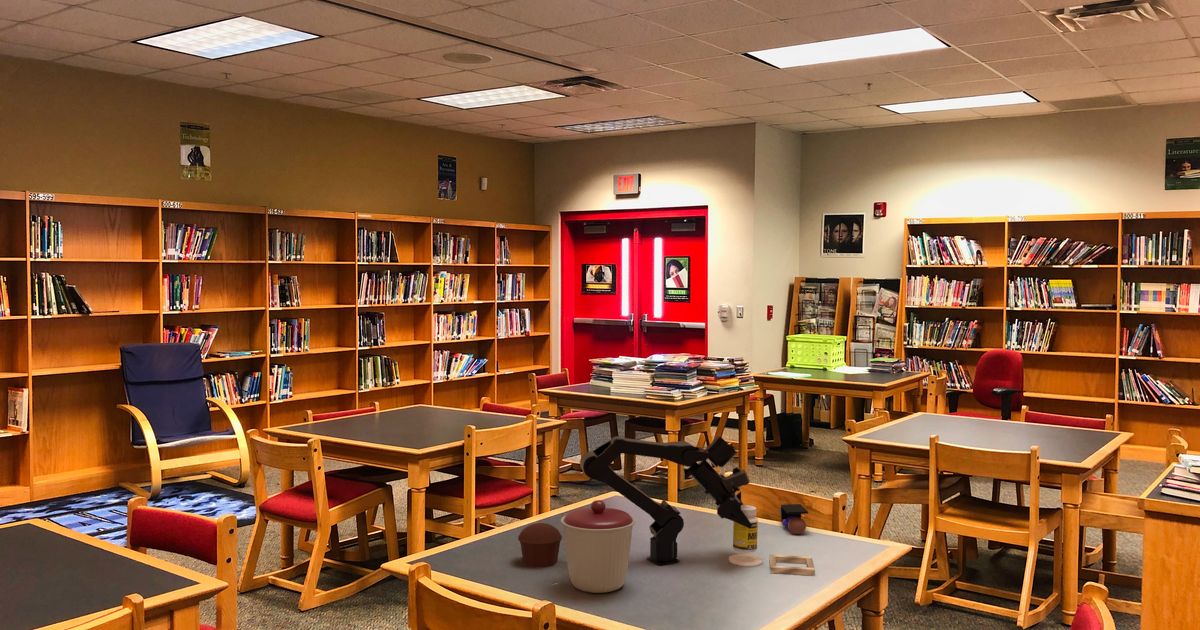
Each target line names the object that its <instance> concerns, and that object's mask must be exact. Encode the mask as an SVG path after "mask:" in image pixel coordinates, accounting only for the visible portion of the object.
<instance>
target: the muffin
mask: <svg viewBox="0 0 1200 630" xmlns="http://www.w3.org/2000/svg"><path fill="white" fill-rule="evenodd" d="M562 536H563V535H562V534H561V532H560V530H559V529H558V528H557V527H555V526H554V525H552V524H550V523H545V522H537V523H532V524H530V525H529V524H528V526H526V527H524V528H523V529H522V530H521V531H520V533H519V534H518V536H517V540H518V541H519V543H520V549H521V554H522V561H523V563H524V564H525V566H528V567H532V568H546V567H551V566H552V567H553V566H554V565H556V564H557V563H558V559H559V552H560V544H561V541H562V539H563V537H562Z"/></svg>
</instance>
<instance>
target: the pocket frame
mask: <svg viewBox="0 0 1200 630" xmlns="http://www.w3.org/2000/svg"><path fill="white" fill-rule="evenodd" d="M777 563H786V564H787V563H789V564H803V565H804V564H805V565H806V566H805V567H803V566H802V567H800V566H788V565H786V566H784V565H777ZM769 569H770V570H769V571H770V574H779V575H780V574H781V575H795V576H796V575H799V576H813V577H814V576H816V575H815V574H816V573H815V571H816V569H815V565H814V561H813V556H805V555H804V556H803V555H785V554H769Z"/></svg>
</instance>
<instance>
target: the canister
mask: <svg viewBox="0 0 1200 630" xmlns="http://www.w3.org/2000/svg"><path fill="white" fill-rule="evenodd" d="M560 522H561V524H562V525H563V532H564V542H565V550H566V560H567V561H566V562H567V567H568V576H569V579H570V582H571V584H572V585H573V586H574V588H576V589H577V590H579V591H582V592H585V593H595V594H603V593H608V592H609V593H610V592H615V591H617V590H619V589H620V588H621V587H622V586H623V585H624V583H625V582H626V579H627V574H628V568H629V562H630V554H631V553H630V552H631V544H632V543H631V542H632V535H633V526H634V525H635V523H636V518H635V517H634V516H633V515H631V514H629V513H628V512H626V511H625V510H621V509H618V508H612V507H606V503H605V502H604V501H603V500H601V499H600V500H599V499H597V500H593V501H591V504H590V507H583V508H579V509H574V510H571V511H570V512H568V513H567V514H564V516H562V517H561V519H560Z"/></svg>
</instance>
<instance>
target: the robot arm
mask: <svg viewBox="0 0 1200 630" xmlns="http://www.w3.org/2000/svg"><path fill="white" fill-rule="evenodd" d="M622 454H626V455H634V456H639V457H640V456H642V457H649V458H657V459H663V460H666V461H669V462H671V463H674V464H677V465H680V466H683V467H688V468H682V470H683V476H682V477H683V479H685V480H687V479H688V478H690V477H692V479H694V480H695V482H697V484H699V486H700V487H701V488H702V489H703V490H704V493H705V494H706V495H709V497H710V498H711V499H712V500H713V501H714V504H715V505H716V506H717V507H716V511H717V512H716V514H717V516H719V517H720V519H722V520H723V519H726V520H729V521H732V522H733V523H734V522H736V523H739V524H741V525H743V526H745V527H748V528H750V527H751V526H752V524H751V523H750V521H749V519H748V518H747V517H746V515H745V514H744V512H743V511H742V509H741V505H745V504H744V502H743V500H742V491H741V487H743V486H747V485H748V484H750V478H749V476H748V474H747V471H746V470H745V469H744V468H743V469H741V468H740V467H738V466H735V467H734V468H732V474H729V475H727V476H725V475H724V474H723V473H722V474H721V473H719V472H718V470H716V469H715V468H724V467H725V466H726V465H727V464H728V463H729V462H730V461H731V460H732V459H733V458H734V457H735V456H736V455H738V452H737V450H736V449H735V448H734V447H733V446H732V445H731V444H730V443H728V442H727V441H726V440H725V439H724V438H723V437H722V436H720V435H717V436H716V437H715V438H714V440H713V441H712V442H711V443H710V444H708V445H707V447H706V448H703V447H701V446H699V447H698V446H694V445H693V444H691V443H690V442H689V441H684V440H683V441H681V440H680V441H678V440H677V441H669V442H657V441H651V440H650V441H649V440H642V439H633V438H628V437H622V436H618V435H617V436H613V437H612V438H611V439H609V440H608V441H607V442H605V443H603V444H601V445H599V446H598V447H596V448H595V449H594V450H591V451H587V452H585V453H583V454H582V456H581V457H580V460H579V464H580V465H579V466H580V468H581V470H582V471H583V473H584V474H585V475H586V476H587V477H588V478H591V479H593V480H595V481H596V482H599V483H601V484H604V485H607V486H609V487H611V489H613V490H614V491H615V492H617V493H619V494H620V495H621V496H622V497H624V498H625V499H627V500H629V501H630V502H631V503H632V504H634V505H635V506H636V507H638V508H640V509H641V511H644V512H645V513H646V514H648V515H649V516H650V517H651V518H652V519H653V520H654V521H653V522H652V523H651V524H650V525H649V527H648V528H649V531H650V533H651V535H652V536H651V537H650V540H649V541H650V542H649V543H650V544H649V545H650V546H649V547H650V548H649V549H650V550H649V556H647V557H646V560H648V561H650V562H652V563H654V564H656V565H658V566H662V565H668V564H674V563H679V562H680V559H678V542H677V538H678V536H679V534H680V533H681V532H682V531H683V529H684V526H685V522H684V519H683V516H682V515H681V511H680V510H679V509H677V507H676V506H673V505H670V504H669V503H668V502H667V501H666V499H664V498H663V499H662V501H661V502H658V501H656V500H654V499H653V498H651V497H650V496H649V495H647V494H646V493H644V492H643V491H641V490H640V489H639V488H637V487H636V486H635V485H634V484H632V483H630V482H629V481H628V480H626V479H625V478H623V476H621V475H620V474H618V473H617V472H615V471H614V470H613V469H612V467H610V465H612V463H613V462H614V461H615V460H616V459H617V458H618V457H620V455H622ZM707 460H708V461H709V462H708V461H707ZM711 464H712V465H713V466H714V467H713V466H712V465H711Z"/></svg>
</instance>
